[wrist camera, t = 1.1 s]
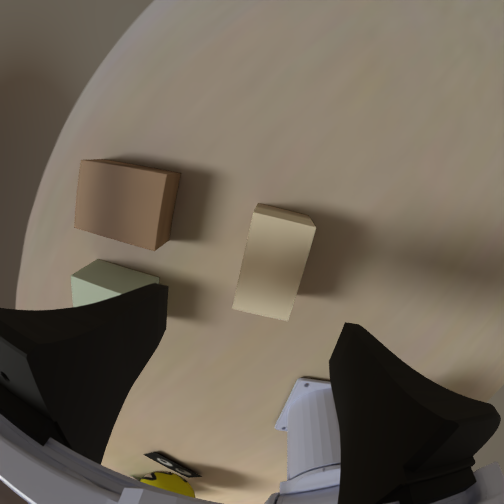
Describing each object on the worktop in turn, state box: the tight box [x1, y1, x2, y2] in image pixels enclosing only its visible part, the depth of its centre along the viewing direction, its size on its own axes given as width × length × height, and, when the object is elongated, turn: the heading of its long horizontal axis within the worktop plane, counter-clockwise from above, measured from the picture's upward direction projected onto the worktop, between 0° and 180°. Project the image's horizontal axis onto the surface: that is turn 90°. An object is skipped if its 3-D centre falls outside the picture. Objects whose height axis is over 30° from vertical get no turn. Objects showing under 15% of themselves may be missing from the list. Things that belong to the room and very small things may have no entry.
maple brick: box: [232, 203, 316, 321], centre depth 18 cm, size 6×4×4 cm, turn 168°
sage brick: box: [71, 259, 159, 307], centre depth 20 cm, size 6×4×4 cm, turn 77°
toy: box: [140, 452, 202, 498], centre depth 30 cm, size 9×10×30 cm
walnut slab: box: [74, 159, 181, 251], centre depth 18 cm, size 7×5×3 cm
